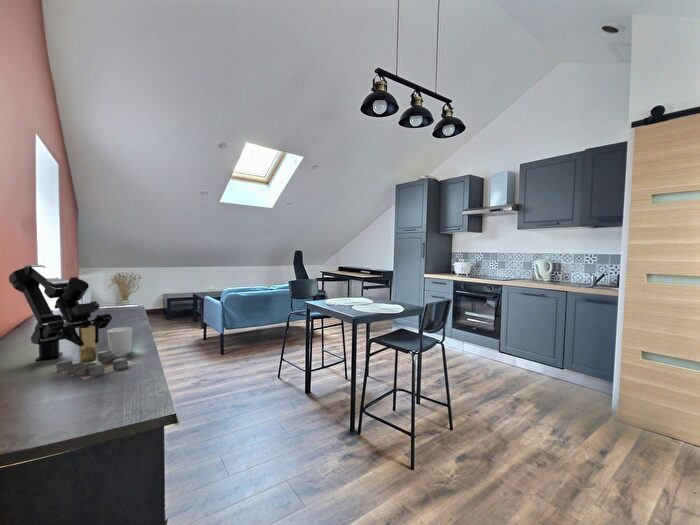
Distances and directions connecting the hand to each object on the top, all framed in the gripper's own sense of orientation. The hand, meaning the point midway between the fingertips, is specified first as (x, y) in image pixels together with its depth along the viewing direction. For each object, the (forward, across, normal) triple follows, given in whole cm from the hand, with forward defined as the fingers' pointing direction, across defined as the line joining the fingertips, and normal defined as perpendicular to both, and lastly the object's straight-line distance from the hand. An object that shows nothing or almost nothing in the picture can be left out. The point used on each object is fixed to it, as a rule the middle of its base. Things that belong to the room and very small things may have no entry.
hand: (89, 344), depth 112 cm
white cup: (+2, +13, +10) cm, 17 cm away
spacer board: (+8, 0, +3) cm, 9 cm away
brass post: (+3, 0, +5) cm, 6 cm away
